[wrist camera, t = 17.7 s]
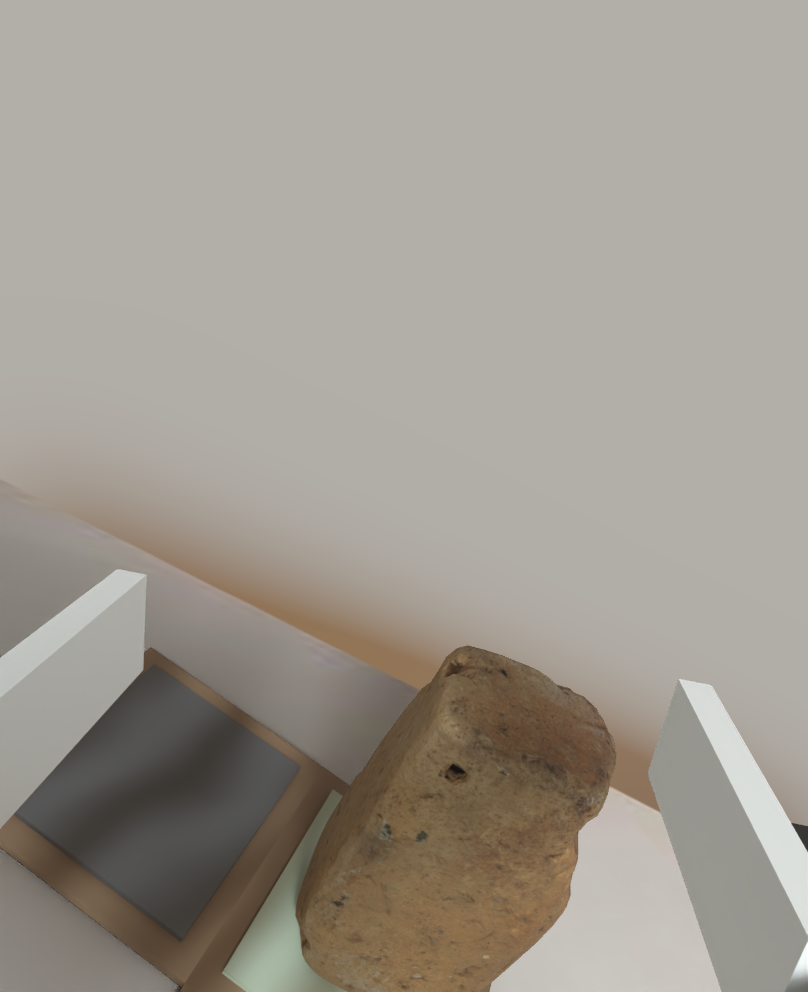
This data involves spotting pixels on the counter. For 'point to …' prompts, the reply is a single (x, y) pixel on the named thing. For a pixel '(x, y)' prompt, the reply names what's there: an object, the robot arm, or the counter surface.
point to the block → (456, 832)
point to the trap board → (184, 835)
